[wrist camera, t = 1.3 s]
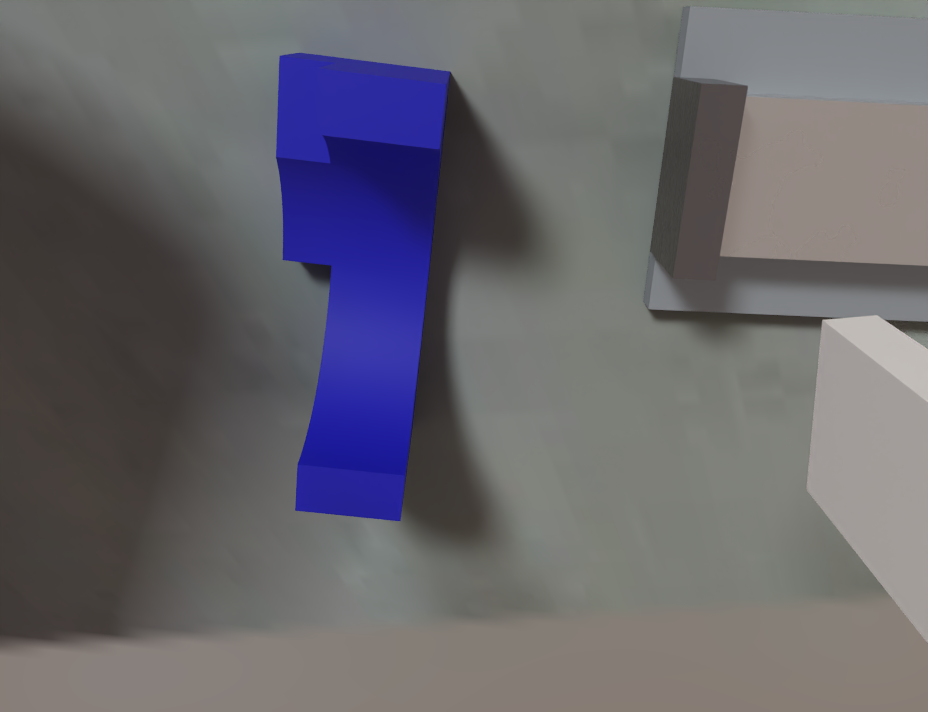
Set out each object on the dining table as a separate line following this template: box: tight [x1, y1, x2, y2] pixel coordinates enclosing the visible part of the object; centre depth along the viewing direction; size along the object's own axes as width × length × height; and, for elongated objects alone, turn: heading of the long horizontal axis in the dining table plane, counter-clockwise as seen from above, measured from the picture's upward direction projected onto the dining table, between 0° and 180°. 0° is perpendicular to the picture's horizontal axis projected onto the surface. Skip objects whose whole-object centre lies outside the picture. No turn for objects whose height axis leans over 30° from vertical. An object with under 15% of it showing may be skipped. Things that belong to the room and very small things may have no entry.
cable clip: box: [276, 53, 450, 521], centre depth 24 cm, size 12×4×6 cm, turn 173°
